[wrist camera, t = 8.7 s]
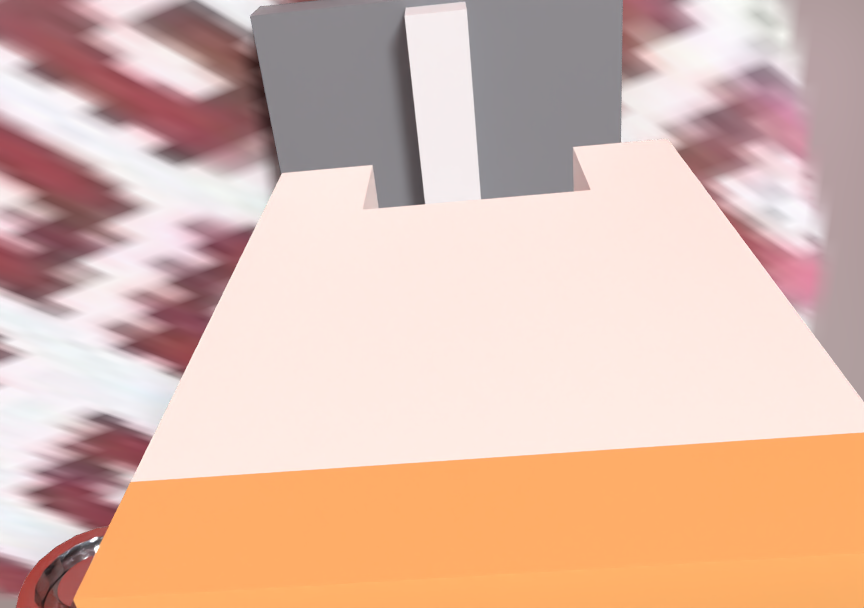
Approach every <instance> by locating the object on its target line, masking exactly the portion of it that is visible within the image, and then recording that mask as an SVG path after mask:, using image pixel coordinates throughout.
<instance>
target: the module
mask: <svg viewBox="0 0 864 608" xmlns="http://www.w3.org/2000/svg"><path fill="white" fill-rule="evenodd" d="M573 183H574V192H562V193H550V194H539V195H527V196H516V197H504V198H493V199H481V200H469V201H458V202H446V203H435V204H423V205H412V206H400V207H388V208H379V207H378V200H377V193H376V186H375V179H374V172H373V165H367V166H356V167H344V168H333V169H322V170H311V171H300V172H289V173H282V174H281V176H280V178H279V180H278V182H277V184H276V186H275V188H274V190H273V193H272V195H271V197H270V199H269V201H268V203H267V205H266V207H265V209H264V211H263V213H262V215H261V217H260V219H259V221H258V223H257V225H256V227H255V229H254V231H253V233H252V235H251V237H250V239H249V242H248V244H247V246H246V248H245V250H244V252H243V254H242V256H241V258H240V260H239V262H238V264H237V266H236V268H235V270H234V272H233V274H232V276H231V278H230V280H229V282H228V284H227V286H226V288H225V290H224V293H223V295H222V297H221V299H220V301H219V303H218V305H217V307H216V309H215V311H214V313H213V315H212V317H211V319H210V321H209V323H208V325H207V327H206V329H205V331H204V333H203V335H202V337H201V339H200V341H199V344H198V346H197V348H196V350H195V352H194V354H193V356H192V358H191V360H190V362H189V364H188V366H187V368H186V370H185V372H184V374H183V376H182V378H181V380H180V382H179V384H178V386H177V388H176V390H175V393H174V395H173V397H172V399H171V401H170V403H169V405H168V407H167V409H166V411H165V413H164V415H163V417H162V419H161V421H160V423H159V425H158V427H157V429H156V431H155V433H154V435H153V437H152V439H151V441H150V444H149V446H148V448H147V450H146V452H145V454H144V456H143V458H142V460H141V462H140V464H139V466H138V468H137V470H136V472H135V474H134V476H133V478H132V480H131V482H130V484H129V486H128V488H127V490H126V493H125V495H124V497H123V499H122V501H121V503H120V505H119V507H118V509H117V511H116V513H115V515H114V517H113V519H112V521H111V523H110V525H109V527H108V529H107V531H106V533H105V535H104V537H103V539H102V541H101V544H100V546H99V548H98V550H97V552H96V554H95V556H94V558H93V560H92V562H91V564H90V566H89V568H88V570H87V572H86V574H85V576H84V578H83V580H82V582H81V584H80V586H79V588H78V590H77V592H76V595H75V597H74V599H73V600H74V603H75V605H76V607H77V608H864V402H863V400H862V399H861V398H860V396H859V395H858V394H857V393H856V391H855V390H854V388H853V387H852V386H851V384H850V383H849V382H848V380H847V379H846V378H845V376H844V375H843V374H842V372H841V371H840V370H839V368H838V367H837V365H836V364H835V363H834V361H833V360H832V359H831V357H830V356H829V355H828V353H827V352H826V351H825V349H824V348H823V347H822V345H821V344H820V343H819V341H818V340H817V339H816V337H815V336H814V335H813V333H812V332H811V331H810V329H809V328H808V327H807V325H806V324H805V323H804V321H803V320H802V319H801V317H800V316H799V314H798V313H797V312H796V310H795V309H794V308H793V306H792V305H791V304H790V302H789V301H788V300H787V298H786V297H785V296H784V294H783V293H782V292H781V290H780V289H779V288H778V286H777V285H776V284H775V282H774V281H773V280H772V278H771V277H770V276H769V274H768V273H767V272H766V270H765V269H764V268H763V266H762V265H761V263H760V262H759V261H758V259H757V258H756V257H755V255H754V254H753V253H752V251H751V250H750V249H749V247H748V246H747V245H746V243H745V242H744V241H743V239H742V238H741V237H740V235H739V234H738V233H737V231H736V230H735V229H734V227H733V226H732V225H731V223H730V222H729V221H728V219H727V218H726V217H725V215H724V214H723V212H722V211H721V210H720V208H719V207H718V206H717V204H716V203H715V202H714V200H713V199H712V198H711V196H710V195H709V194H708V192H707V191H706V190H705V188H704V187H703V186H702V184H701V183H700V182H699V180H698V179H697V178H696V176H695V175H694V174H693V172H692V171H691V170H690V168H689V167H688V166H687V164H686V163H685V162H684V160H683V159H682V157H681V156H680V155H679V153H678V152H677V151H676V149H675V148H674V147H673V145H672V144H671V143H670V141H669V140H668V139H657V140H646V141H635V142H623V143H612V144H601V145H590V146H579V147H573Z"/></svg>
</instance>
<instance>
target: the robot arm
mask: <svg viewBox="0 0 864 608" xmlns="http://www.w3.org/2000/svg"><path fill="white" fill-rule="evenodd" d="M108 527H109V526H106V527H100V528H96V529H93V530H90V531H87V532H84V533H82V534H79V535H76V536H74V537H73V538H71V539H69V540H67V541H65V542H64V543H62V544H60V545H58V546H57V547H55V548H54V549H53V550H52V551H50V552H49V553H48V554H47V555H46V556H44V557H43V558H42V559H41V560H39V561H38V563H37V564H36V565H35V566H34V568H33V569H32V570H31V572H30V573H29V574H28V575H27V577H26V578H25V581H24V583H23V585H22V588H21V590H20V593H19V596H18V600H17V605H16V608H77V607H76V605H75V603H74V600H73V599H74V597H75V595H76V592H77V590H78V588H79V586H80V584H81V582H82V580H83V578H84V576H85V574H86V572H87V570H88V568H89V566H90V564H91V562H92V560H93V558H94V556H95V554H96V552H97V550H98V548H99V546H100V544H101V541H102V539H103V537H104V535H105V533H106V531H107V529H108Z"/></svg>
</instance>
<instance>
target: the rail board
mask: <svg viewBox="0 0 864 608" xmlns="http://www.w3.org/2000/svg"><path fill="white" fill-rule="evenodd" d="M622 12H623V0H317V1H308V2H298V3H289V4H279V5H270V6H260V7H259V8H258V9H257V10H256V11H255V12H254V13H253V14H252V15H251V16H250V18H251V23H252V28H253V33H254V38H255V44H256V49H257V54H258V59H259V64H260V69H261V74H262V79H263V84H264V89H265V94H266V99H267V105H268V110H269V115H270V120H271V125H272V130H273V135H274V140H275V145H276V150H277V155H278V160H279V166H280V171H281V174H282V173H289V172H300V171H311V170H322V169H333V168H344V167H356V166H367V165H373V172H374V179H375V186H376V193H377V200H378V207H379V208H388V207H400V206H412V205H423V204H435V203H446V202H458V201H469V200H481V199H493V198H504V197H516V196H527V195H539V194H550V193H562V192H574V183H573V147H579V146H590V145H601V144H612V143H621V91H622Z"/></svg>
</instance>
